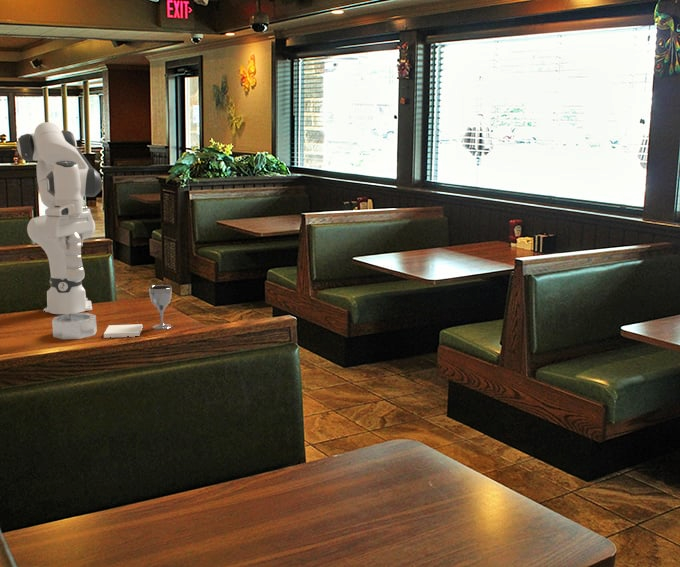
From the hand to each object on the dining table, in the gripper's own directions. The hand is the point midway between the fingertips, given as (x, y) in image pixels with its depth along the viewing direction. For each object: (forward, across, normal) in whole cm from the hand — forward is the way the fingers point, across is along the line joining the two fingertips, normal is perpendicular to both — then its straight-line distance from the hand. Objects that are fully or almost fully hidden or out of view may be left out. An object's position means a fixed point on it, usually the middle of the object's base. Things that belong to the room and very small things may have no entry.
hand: (72, 247), depth 276 cm
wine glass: (+31, -20, +22) cm, 43 cm away
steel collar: (+31, 0, -1) cm, 31 cm away
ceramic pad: (+31, -7, +14) cm, 35 cm away
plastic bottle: (+12, 0, +1) cm, 12 cm away
